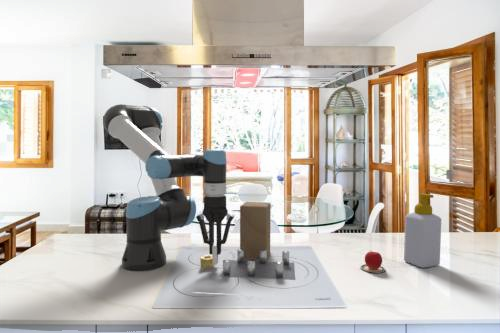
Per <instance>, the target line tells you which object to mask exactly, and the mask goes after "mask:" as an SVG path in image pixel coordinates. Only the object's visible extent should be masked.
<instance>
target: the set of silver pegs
mask: <svg viewBox="0 0 500 333" xmlns="http://www.w3.org/2000/svg"><path fill="white" fill-rule="evenodd" d="M236 252H237V254H236V255H237V256H236V260H237V263H239V264H242V263H244V261H245V258H244V250H243V249H240V248H239V249H237V251H236ZM281 253H282V254H281V255H282V257H281V258H282V260H281V261H275V262H276V277H277V278H282V277H283V265H289V262H290V251H289V250H282V252H281ZM266 259H267V260H268V258H267V251H266V250H260V260H259V261H260V264H266V262H267V260H266ZM230 260H231V259H223V260H222V271H223V275H224V276H229V275H230ZM247 261H248V276H249V277H254V276H255V261H256V260H253V259H249V260H247Z"/></svg>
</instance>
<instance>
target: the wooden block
mask: <svg viewBox="0 0 500 333" xmlns="http://www.w3.org/2000/svg"><path fill="white" fill-rule="evenodd" d="M271 209H272V208H271V202H263V201H262V202H261V201H245V202H243V203H242V204H240V207H239V249H243V250H244V260H246V259H247V260H248V259H249V260H259V261H260V250H266V251H267V259H266V261H267V260H268V257H269V255H270V254H271Z"/></svg>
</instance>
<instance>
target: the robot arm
mask: <svg viewBox="0 0 500 333" xmlns="http://www.w3.org/2000/svg"><path fill="white" fill-rule="evenodd" d="M102 125H103V127H104V129H105V131H106V132H107V133H108V134H109V135H110V136H111V137H112V138H114V139H118V140H120V141H121V142H122V143H123V144H124V145H125V146H126V148H128V149H129V150H130V151H131V152H132V153H133V154H135V156H137V157H138V158H139V159H140V160H141V162H143V163H144V164H145V172H146V173H147V174H146V175H147V176H148V177H149V178H150V180H151V182H152V185H153V187H154V190H155V193H156V195H149V196H140V197H136V198H133V199H132V200H129V202H127V204H126V208H125V210H126V211H125V217H126V218H125V219H126V223H125V224H126V227H125V228H126V245H125V248H124V252H123V255H122V257H121V267H122V268H123V269H125V270H127V271H134V272H135V271H136V272H138V271H140V272H142V271H150V270H154V269H158V268H161V267H163V266H165V265H166V263H167V255H166V254H167V253H166V251H165V249H164V245H163V243H162V232H164V231H169V230H173V229H178V228H179V229H180V228H183V227H186V226H187V227H188V226H189V225H191V224H192V223H193V222H194V220H195V218H196V220H197V221H198V223H199V228H200V231H201V236H202V240H203V243H204V244H207V245H209V246H208V248H209V251H208V253H209V255H211V256H212V265H214V266H217V265H218V264H219V255H221V253H222V245H224V244H226V242H227V240H228V238H229V237H228V236H229V232H230V228H231V224H232V221H233V219H234V218H235V215H234V214H231V213H229V212H228V209H227V195H226V194H227V153H226V151H225V149H205V150H204V151H203V154H194V153H191V154H190V153H188V154H169V153H168V152H166V150H164V147H163V144H162V142H161V140H160V135H161V131H162V129H163V118H162V115H161V113H160V112H159V110H157V109H156V108H154V107H151V106H146V105H141V106H138V105H132V104H123V103H121V104H115V105H113V106H110V107H109V108H108V109H107V110H106V111H105V113H104V114H103V119H102ZM184 177H185V178H186V177H203V194H204V196H203V208H202V209H203V210H202V212H201V213H199V214H198V215H196V214H197V204H196V201H195V199H194V198H193V197H192V196H191V195H187V194H186V193H185V191H184V189H183V187H180V186H179V185H178V183H177V181H176V178H184ZM204 219H206V220H207V221H208V230H207V226H206V222H205V220H204ZM224 219H226V223H225V228H224V231H223V236H222V223H223V220H224ZM215 224H216V225H215ZM215 226H216V243H215Z"/></svg>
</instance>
